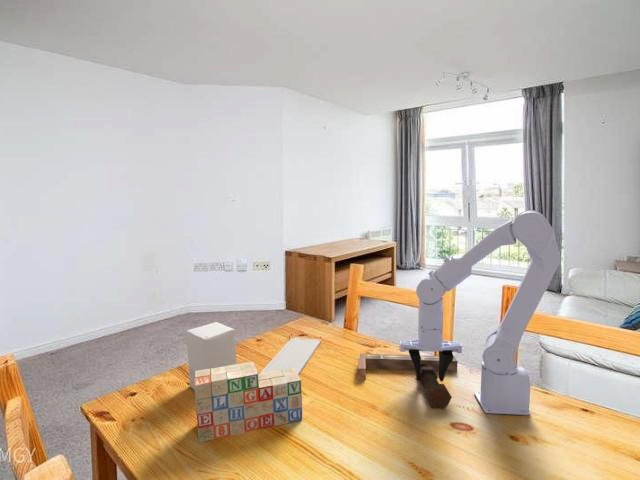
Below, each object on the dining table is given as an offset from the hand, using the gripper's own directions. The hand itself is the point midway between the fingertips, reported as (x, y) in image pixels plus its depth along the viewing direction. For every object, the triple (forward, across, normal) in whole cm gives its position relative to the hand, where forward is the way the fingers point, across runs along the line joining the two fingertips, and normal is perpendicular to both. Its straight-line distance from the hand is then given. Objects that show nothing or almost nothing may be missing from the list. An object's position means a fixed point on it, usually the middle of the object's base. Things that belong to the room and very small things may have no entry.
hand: (429, 379), depth 90 cm
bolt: (+3, 0, +1) cm, 3 cm away
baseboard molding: (+3, +38, -12) cm, 40 cm away
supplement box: (+2, +54, +3) cm, 54 cm away
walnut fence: (+2, +4, -7) cm, 9 cm away
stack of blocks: (+3, +40, +17) cm, 44 cm away
